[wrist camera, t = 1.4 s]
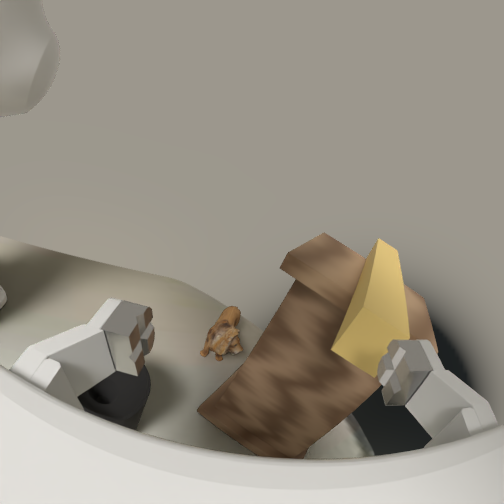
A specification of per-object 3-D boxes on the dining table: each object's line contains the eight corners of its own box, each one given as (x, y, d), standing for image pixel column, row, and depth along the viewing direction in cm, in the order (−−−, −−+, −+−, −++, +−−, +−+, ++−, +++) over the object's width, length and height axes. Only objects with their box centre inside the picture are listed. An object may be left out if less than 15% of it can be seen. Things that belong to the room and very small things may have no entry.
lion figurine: (226, 380, 41) (249, 344, 37) (194, 369, 40) (212, 331, 37) (234, 324, 54) (252, 289, 51) (208, 314, 54) (225, 278, 50)
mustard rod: (330, 349, 14) (363, 306, 13) (366, 257, 35) (378, 238, 34) (374, 377, 13) (410, 337, 12) (385, 269, 34) (397, 250, 33)
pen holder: (132, 461, 23) (140, 432, 19) (57, 432, 21) (44, 391, 17) (144, 401, 31) (158, 357, 28) (80, 376, 29) (79, 326, 25)
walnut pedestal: (196, 411, 34) (288, 252, 24) (244, 364, 46) (324, 232, 36) (290, 474, 29) (438, 352, 19) (320, 414, 41) (423, 298, 31)
